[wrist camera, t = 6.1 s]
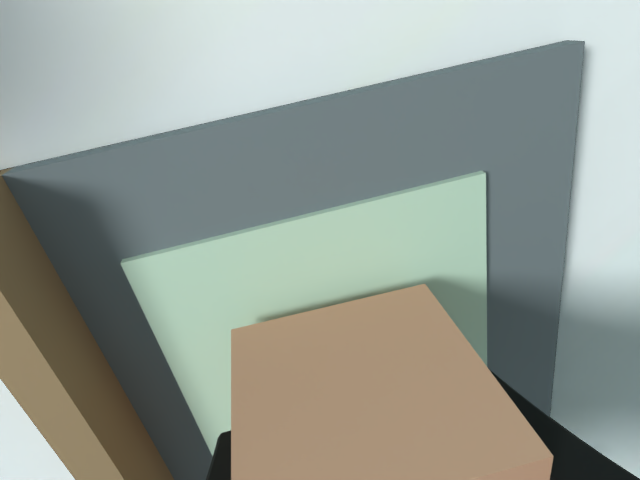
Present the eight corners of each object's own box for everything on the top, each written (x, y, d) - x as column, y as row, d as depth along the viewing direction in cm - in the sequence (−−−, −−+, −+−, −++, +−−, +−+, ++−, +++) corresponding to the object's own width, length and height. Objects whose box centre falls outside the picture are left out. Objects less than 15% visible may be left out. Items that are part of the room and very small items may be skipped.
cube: (424, 283, 11) (558, 462, 7) (430, 416, 13) (531, 614, 9) (230, 329, 11) (230, 555, 6) (272, 458, 13) (293, 690, 8)
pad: (484, 414, 15) (487, 419, 15) (230, 487, 14) (230, 492, 14) (481, 170, 11) (485, 173, 11) (122, 259, 10) (120, 263, 10)
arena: (535, 460, 18) (577, 522, 16) (200, 559, 17) (194, 640, 15) (566, 40, 10) (656, 44, 8) (-32, 177, 9) (-115, 224, 7)
